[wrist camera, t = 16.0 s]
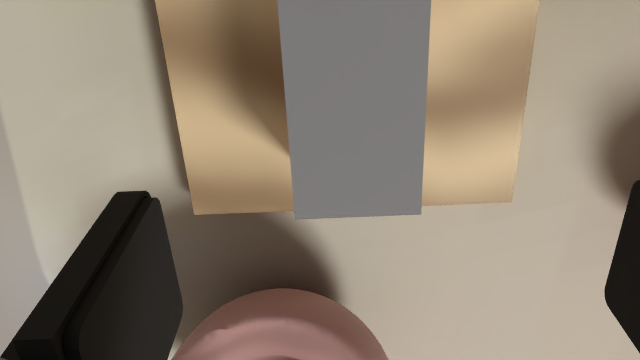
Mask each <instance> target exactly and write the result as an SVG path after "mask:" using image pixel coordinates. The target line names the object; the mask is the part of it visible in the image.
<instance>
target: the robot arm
mask: <svg viewBox="0 0 640 360" xmlns="http://www.w3.org/2000/svg"><path fill="white" fill-rule="evenodd" d="M605 300H606V303H607V305H608V307H609V309H610V310H611V312H612V313H613V315H614V316H615V317H616V319H617V320H618V322H619V323H620V325H621V326H622V328H623V329H624V331H625V332H626V334H627V335H628V337H629V338H630V339H631V341H632V342H633V344H634V345H635V347H636V348H637V350H638V351H639V353H640V180H638V181H636V182H635V183H634V184H633V187H632V189H631V193H630V197H629V200H628V204H627V208H626V212H625V215H624V219H623V223H622V226H621V230H620V234H619V238H618V241H617V245H616V249H615V252H614V256H613V260H612V263H611V267H610V271H609V275H608V278H607V282H606V286H605ZM182 310H183V304H182V298H181V293H180V289H179V284H178V280H177V275H176V271H175V267H174V262H173V258H172V253H171V249H170V244H169V240H168V235H167V231H166V226H165V222H164V218H163V213H162V209H161V204H160V201H159V200H158V198H151V196H150V194H149V193H148V192H147V191H127V192H117V193H116V194H115V195H114V196H113V197H112V199H111V200H110V202H109V203H108V205H107V206H106V207H105V209H104V210H103V212H102V213H101V214H100V216H99V217H98V219H97V220H96V222H95V223H94V224H93V226H92V227H91V229H90V230H89V232H88V233H87V234H86V236H85V237H84V239H83V240H82V241H81V243H80V244H79V246H78V247H77V249H76V250H75V251H74V253H73V254H72V256H71V257H70V258H69V260H68V261H67V263H66V264H65V266H64V267H63V268H62V270H61V271H60V273H59V274H58V275H57V277H56V278H55V280H54V281H53V283H52V284H51V285H50V287H49V288H48V290H47V291H46V293H45V294H44V295H43V297H42V298H41V300H40V301H39V302H38V304H37V305H36V307H35V308H34V310H33V311H32V312H31V314H30V315H29V317H28V318H27V319H26V321H25V322H24V324H23V325H22V327H21V328H20V329H19V331H18V332H17V334H16V335H15V337H14V338H13V339H12V341H11V343H10V344H9V345H8V347H7V348H6V350H5V351H4V352H3V354H2V355H1V357H0V360H167V359H168V356H169V353H170V350H171V347H172V344H173V341H174V338H175V335H176V333H177V330H178V327H179V324H180V321H181V317H182Z"/></svg>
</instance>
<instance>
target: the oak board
mask: <svg viewBox="0 0 640 360" xmlns="http://www.w3.org/2000/svg"><path fill="white" fill-rule="evenodd" d="M539 2H540V0H431V17H430V38H429V59H428V80H427V101H426V122H425V143H424V164H423V185H422V206H429V205H454V204H479V203H503V202H512V198H513V191H514V183H515V176H516V169H517V162H518V154H519V147H520V140H521V133H522V125H523V118H524V111H525V104H526V96H527V89H528V82H529V75H530V67H531V60H532V53H533V46H534V38H535V31H536V24H537V17H538V9H539ZM155 4H156V10H157V15H158V21H159V26H160V32H161V37H162V43H163V48H164V53H165V59H166V64H167V70H168V75H169V81H170V86H171V92H172V97H173V102H174V108H175V113H176V119H177V124H178V130H179V135H180V141H181V146H182V151H183V157H184V162H185V168H186V173H187V179H188V184H189V190H190V195H191V201H192V206H193V211H194V215H204V214H229V213H254V212H279V211H294V201H293V189H292V176H291V164H290V151H289V139H288V127H287V114H286V102H285V90H284V77H283V65H282V53H281V40H280V28H279V15H278V3H277V0H155Z"/></svg>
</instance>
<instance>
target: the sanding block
mask: <svg viewBox="0 0 640 360" xmlns="http://www.w3.org/2000/svg"><path fill="white" fill-rule="evenodd" d="M277 3H278V15H279V28H280V40H281V53H282V65H283V77H284V90H285V102H286V114H287V127H288V139H289V151H290V164H291V176H292V189H293V201H294V213H295V219H318V218H343V217H369V216H394V215H420V214H421V206H422V185H423V164H424V143H425V122H426V101H427V80H428V59H429V38H430V17H431V0H277Z"/></svg>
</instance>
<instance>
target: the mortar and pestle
mask: <svg viewBox="0 0 640 360" xmlns="http://www.w3.org/2000/svg"><path fill="white" fill-rule="evenodd" d="M171 360H388V358H387V356H386V354H385V352H384V350H383V348H382V346H381V345H380V343H379V342H378V340H377V339H376V337H375V336H374V335H373V333H372V332H371V331H370V330H369V328H368V327H367V326H366V325H365V324H364V323H363V322H362V321H361V320H360V319H359V318H358V317H357V316H355V315H354V314H353V313H352V312H351V311H349V310H348V309H346V308H345V307H343V306H342V305H340V304H339V303H337V302H335V301H333V300H331V299H329V298H327V297H324V296H322V295H319V294H316V293H313V292H309V291H305V290H298V289H289V288H277V289H267V290H261V291H256V292H253V293H249V294H246V295H243V296H241V297H238V298H236V299H234V300H232V301H230V302H228V303H226V304H224V305H223V306H221V307H220V308H218V309H216V310H215V311H214V312H212V313H211V314H210V315H209V316H207V317H206V318H205V319H204V320H203V321H202V322H201V323H200V324H199V325H198V326H197V327H196V328H195V329H194V330H193V331H192V332H191V333H190V334H189V336H188V337H187V338H186V339H185V341H184V342H183V343H182V345H181V346H180V348H179V349H178V351H177V352H176V354H175V355H174V356H173V358H172V359H171Z"/></svg>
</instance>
